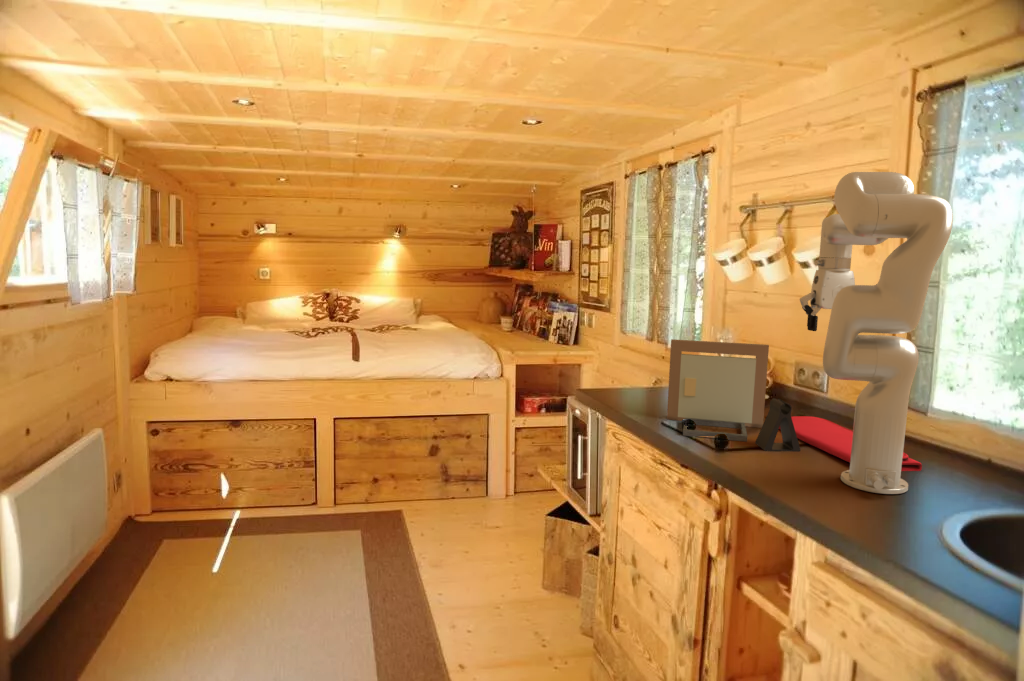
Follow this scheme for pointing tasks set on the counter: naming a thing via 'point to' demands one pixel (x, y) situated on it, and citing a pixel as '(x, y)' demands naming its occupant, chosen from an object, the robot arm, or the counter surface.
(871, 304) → the robot arm
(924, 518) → the counter surface
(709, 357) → the tan picture frame
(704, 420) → the grey flat square frame
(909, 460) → the dish drying mat
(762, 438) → the phone stand
